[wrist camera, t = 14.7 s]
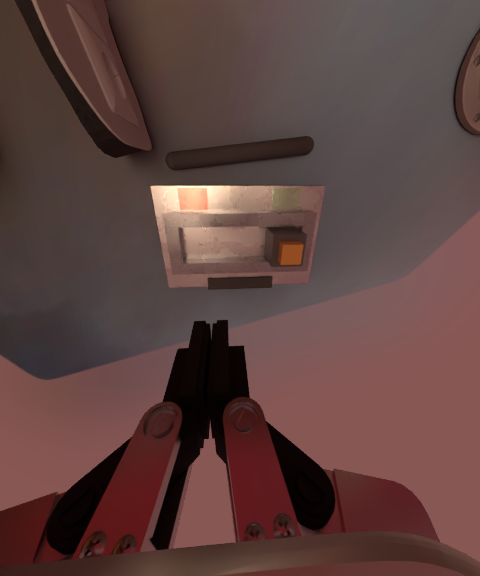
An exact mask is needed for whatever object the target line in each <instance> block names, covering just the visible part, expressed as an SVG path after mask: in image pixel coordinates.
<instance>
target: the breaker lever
mask: <svg viewBox="0 0 480 576" xmlns="http://www.w3.org/2000/svg"><path fill="white" fill-rule="evenodd" d="M306 239H307V234H306V233H304V232H303V231H301V230H299V229H298V228H296V227H295V226H286V227H266V236H265V253H264V255H265V257H266V259H267V261H268V262H269V264H270V266H271V267H293V266H302V265H303V258H304V252H305V245H306Z"/></svg>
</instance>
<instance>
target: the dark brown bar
mask: <svg viewBox="0 0 480 576" xmlns="http://www.w3.org/2000/svg"><path fill="white" fill-rule="evenodd" d="M272 279H273V277H272V276H268V277H232V278H208V290H209V289H240V288H272Z"/></svg>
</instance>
